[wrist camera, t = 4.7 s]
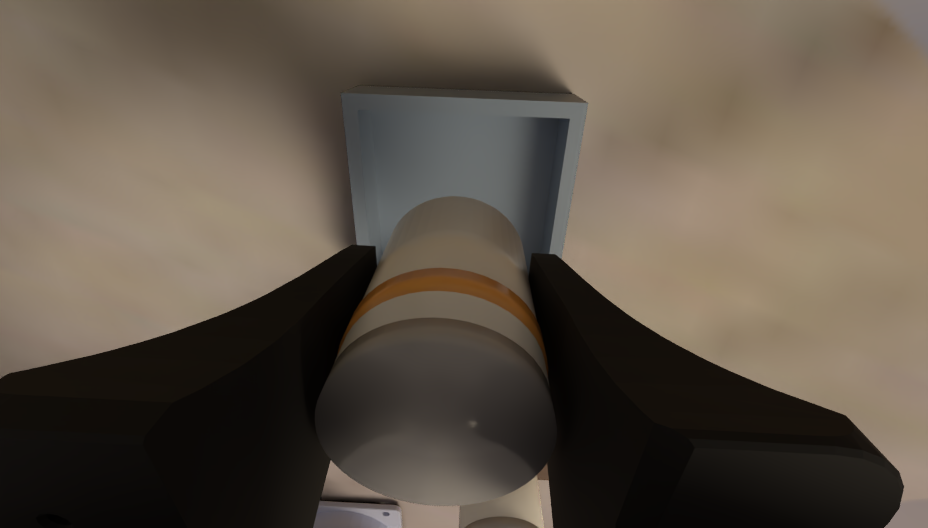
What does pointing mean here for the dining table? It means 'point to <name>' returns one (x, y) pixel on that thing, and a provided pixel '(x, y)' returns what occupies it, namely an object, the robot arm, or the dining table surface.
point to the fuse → (506, 510)
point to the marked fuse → (442, 365)
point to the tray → (463, 157)
